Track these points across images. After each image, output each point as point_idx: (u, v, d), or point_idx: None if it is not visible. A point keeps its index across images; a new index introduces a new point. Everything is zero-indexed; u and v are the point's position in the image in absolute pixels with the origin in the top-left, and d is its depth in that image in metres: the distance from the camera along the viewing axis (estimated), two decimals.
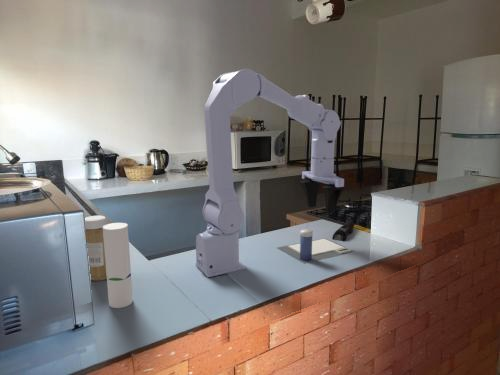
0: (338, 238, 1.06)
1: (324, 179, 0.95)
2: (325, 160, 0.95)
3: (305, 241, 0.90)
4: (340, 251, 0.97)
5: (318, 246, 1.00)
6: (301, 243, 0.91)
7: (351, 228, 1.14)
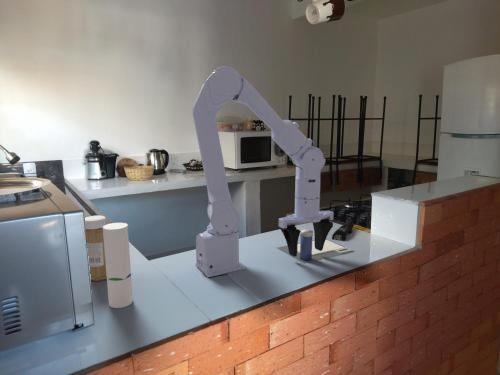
0: (337, 238, 1.06)
1: None
2: (295, 198, 0.90)
3: (305, 241, 0.90)
4: (340, 251, 0.97)
5: None
6: (301, 243, 0.91)
7: (350, 228, 1.14)
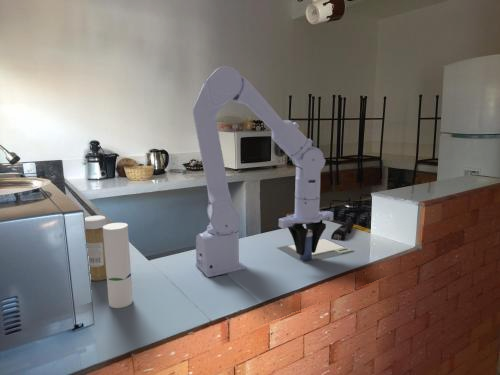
0: (337, 238, 1.06)
1: None
2: (295, 198, 0.90)
3: (305, 241, 0.90)
4: (340, 251, 0.97)
5: (318, 246, 1.00)
6: None
7: (350, 228, 1.14)
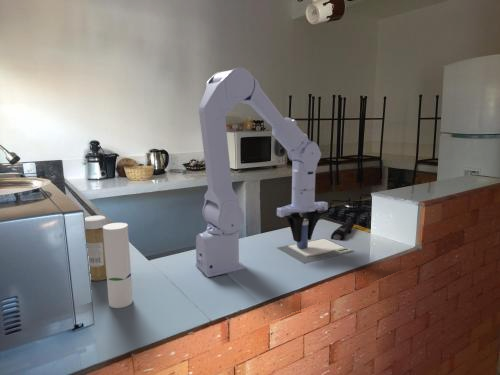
0: (336, 238, 1.07)
1: None
2: (292, 189, 0.96)
3: (301, 229, 0.97)
4: (340, 251, 0.97)
5: (318, 246, 1.00)
6: None
7: (350, 228, 1.14)
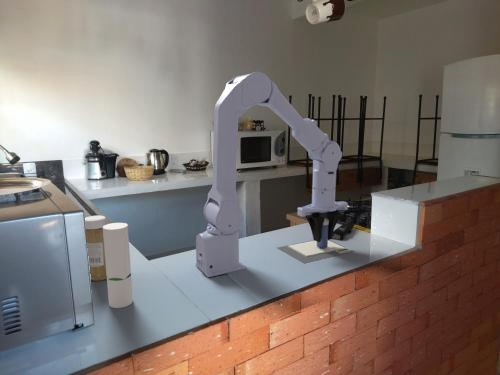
0: (336, 237, 1.07)
1: None
2: (312, 189, 0.97)
3: (322, 229, 0.97)
4: (340, 251, 0.97)
5: None
6: None
7: (350, 228, 1.14)
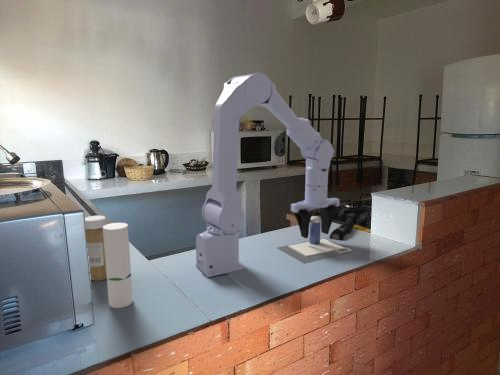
0: (335, 237, 1.07)
1: None
2: (305, 186, 1.00)
3: (314, 226, 1.01)
4: (340, 251, 0.97)
5: (318, 246, 1.00)
6: (310, 228, 1.02)
7: (350, 228, 1.14)
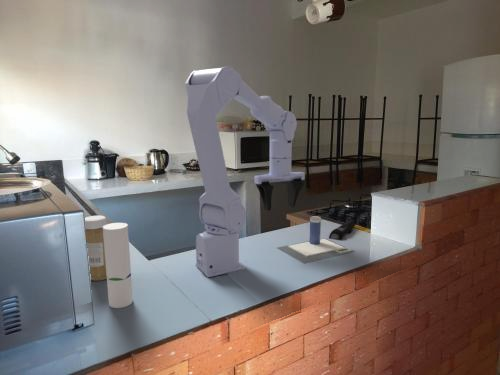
0: (334, 237, 1.07)
1: None
2: None
3: (314, 226, 1.01)
4: (340, 251, 0.97)
5: (318, 246, 1.00)
6: (310, 228, 1.02)
7: (350, 228, 1.14)
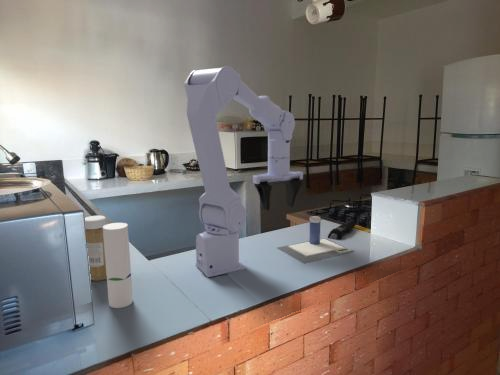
0: (333, 237, 1.07)
1: None
2: (268, 158, 1.01)
3: (314, 226, 1.01)
4: (340, 251, 0.97)
5: (318, 246, 1.00)
6: (310, 228, 1.02)
7: (350, 228, 1.14)
